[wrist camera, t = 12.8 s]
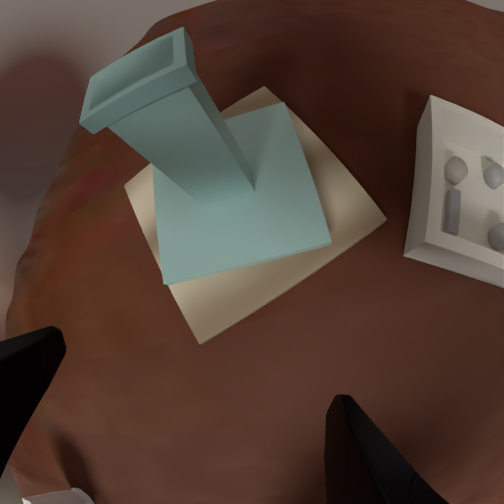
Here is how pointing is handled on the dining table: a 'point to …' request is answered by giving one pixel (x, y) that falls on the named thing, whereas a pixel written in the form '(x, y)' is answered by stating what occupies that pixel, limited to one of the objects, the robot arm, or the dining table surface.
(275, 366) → the dining table surface
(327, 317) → the dining table surface
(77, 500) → the cup
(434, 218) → the tub
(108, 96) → the lid
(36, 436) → the dining table surface
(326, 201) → the board
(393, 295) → the dining table surface
